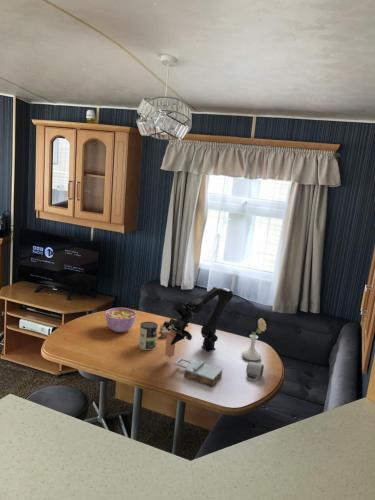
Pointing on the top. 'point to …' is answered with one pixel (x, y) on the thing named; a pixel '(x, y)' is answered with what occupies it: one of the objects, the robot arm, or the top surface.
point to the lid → (200, 368)
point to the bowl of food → (120, 319)
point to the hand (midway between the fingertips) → (168, 343)
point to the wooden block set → (164, 330)
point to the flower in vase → (252, 352)
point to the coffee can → (148, 335)
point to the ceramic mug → (254, 370)
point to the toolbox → (202, 378)
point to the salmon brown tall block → (169, 347)
